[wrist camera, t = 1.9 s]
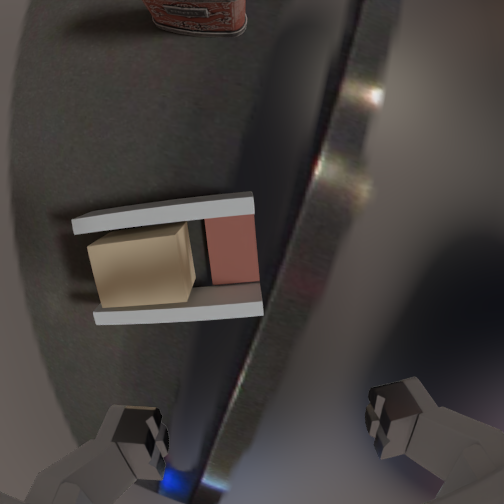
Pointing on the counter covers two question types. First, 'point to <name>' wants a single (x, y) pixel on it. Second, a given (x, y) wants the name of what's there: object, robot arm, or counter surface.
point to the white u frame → (201, 298)
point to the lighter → (199, 16)
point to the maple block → (143, 266)
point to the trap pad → (232, 249)
